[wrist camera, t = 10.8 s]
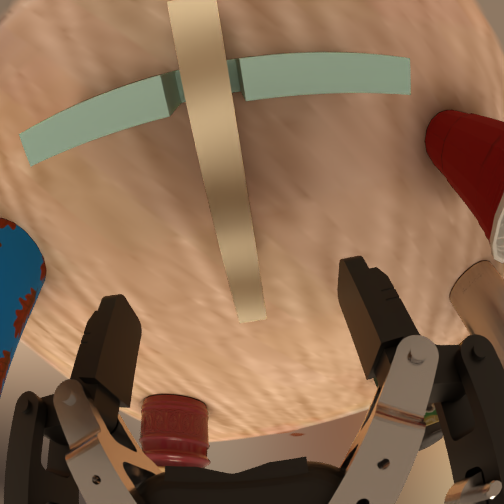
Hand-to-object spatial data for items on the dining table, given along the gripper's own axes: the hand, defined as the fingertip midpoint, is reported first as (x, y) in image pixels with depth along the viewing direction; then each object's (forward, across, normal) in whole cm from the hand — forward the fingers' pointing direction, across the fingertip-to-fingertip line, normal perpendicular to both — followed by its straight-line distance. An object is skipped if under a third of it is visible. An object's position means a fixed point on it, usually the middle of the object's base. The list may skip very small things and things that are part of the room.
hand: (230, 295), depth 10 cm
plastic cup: (+14, -20, 0) cm, 25 cm away
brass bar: (+14, 0, -1) cm, 14 cm away
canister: (+14, +20, +43) cm, 50 cm away
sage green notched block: (+14, 0, -7) cm, 15 cm away
